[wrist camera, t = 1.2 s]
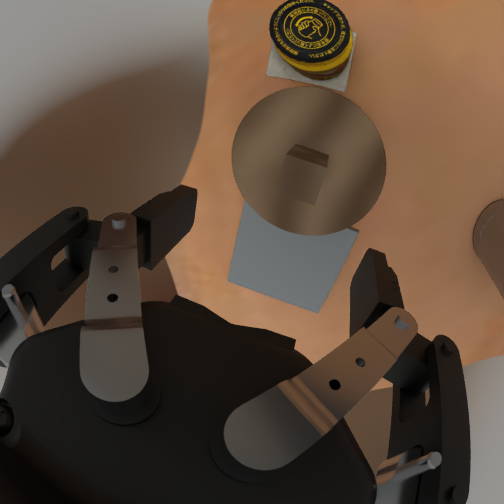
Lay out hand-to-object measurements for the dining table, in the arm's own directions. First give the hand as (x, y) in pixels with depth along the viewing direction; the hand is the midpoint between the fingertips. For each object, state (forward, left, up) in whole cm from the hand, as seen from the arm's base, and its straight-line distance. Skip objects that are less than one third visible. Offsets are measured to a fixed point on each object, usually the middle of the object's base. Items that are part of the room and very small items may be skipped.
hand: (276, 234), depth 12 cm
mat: (-1, +14, -19) cm, 24 cm away
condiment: (+3, -11, -20) cm, 23 cm away
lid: (0, 0, -15) cm, 14 cm away
